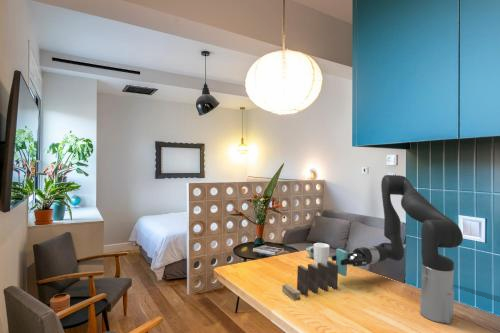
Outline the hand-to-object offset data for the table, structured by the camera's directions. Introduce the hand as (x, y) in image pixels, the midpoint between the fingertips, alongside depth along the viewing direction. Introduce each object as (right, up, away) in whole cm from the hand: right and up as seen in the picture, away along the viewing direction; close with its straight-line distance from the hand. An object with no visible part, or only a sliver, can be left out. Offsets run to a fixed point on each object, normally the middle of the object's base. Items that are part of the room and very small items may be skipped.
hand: (336, 260), depth 126 cm
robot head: (-3, -10, +35) cm, 36 cm away
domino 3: (-7, -11, -3) cm, 13 cm away
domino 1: (-16, -10, -8) cm, 20 cm away
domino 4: (-3, -11, -1) cm, 11 cm away
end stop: (-21, -10, -10) cm, 25 cm away
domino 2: (-12, -10, -5) cm, 16 cm away
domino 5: (+2, -6, +1) cm, 7 cm away
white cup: (-1, -10, +25) cm, 27 cm away
